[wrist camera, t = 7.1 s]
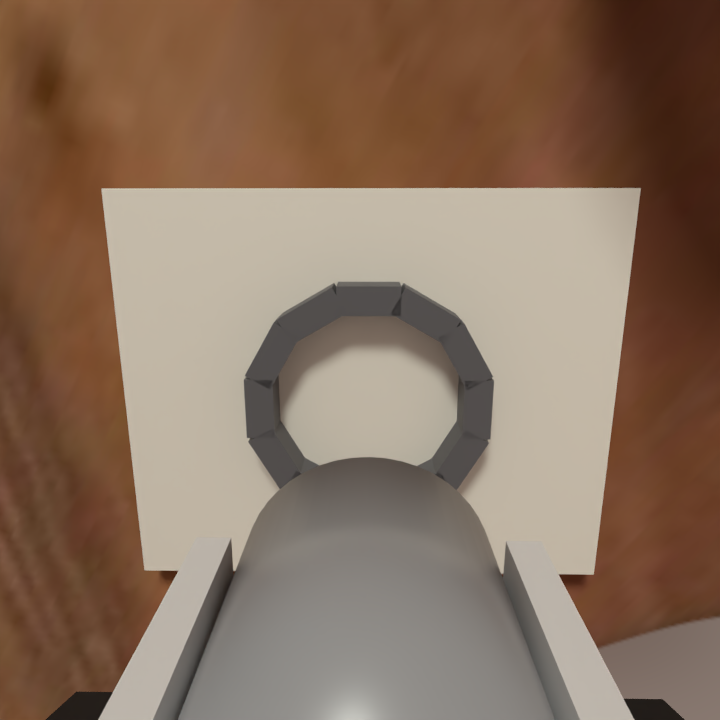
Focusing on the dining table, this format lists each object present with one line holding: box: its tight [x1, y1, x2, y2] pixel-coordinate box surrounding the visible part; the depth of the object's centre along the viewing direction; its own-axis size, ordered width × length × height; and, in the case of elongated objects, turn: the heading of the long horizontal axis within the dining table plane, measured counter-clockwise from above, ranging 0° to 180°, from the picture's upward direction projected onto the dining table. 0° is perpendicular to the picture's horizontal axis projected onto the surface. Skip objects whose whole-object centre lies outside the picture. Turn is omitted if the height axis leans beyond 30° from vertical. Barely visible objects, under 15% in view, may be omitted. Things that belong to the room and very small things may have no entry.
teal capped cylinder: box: [178, 457, 555, 720], centre depth 10 cm, size 6×6×8 cm
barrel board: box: [102, 188, 641, 575], centre depth 25 cm, size 22×18×3 cm
